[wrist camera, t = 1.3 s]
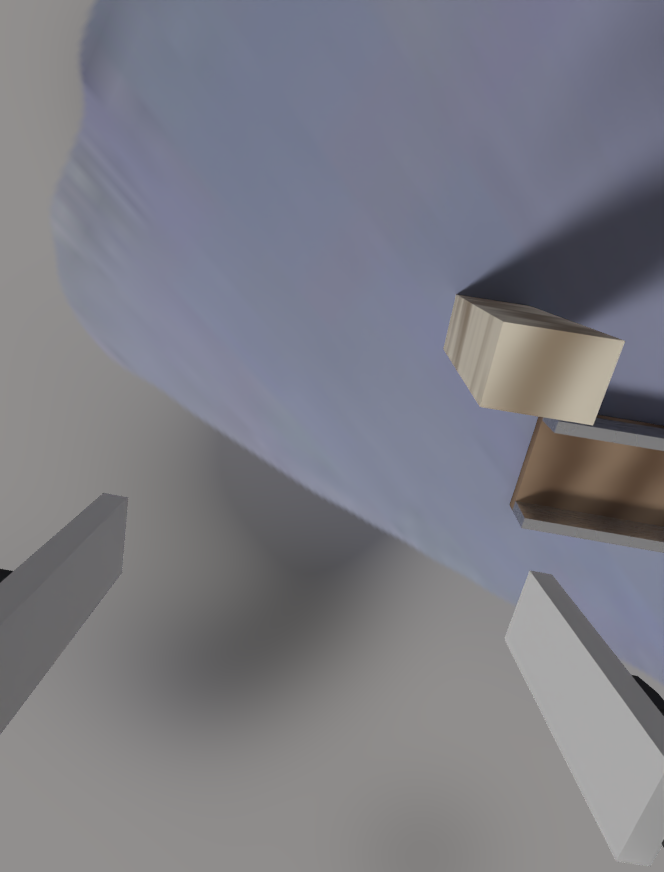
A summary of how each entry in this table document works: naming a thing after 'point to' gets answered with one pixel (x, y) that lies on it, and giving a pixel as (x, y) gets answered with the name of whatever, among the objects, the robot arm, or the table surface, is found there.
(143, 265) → the table surface
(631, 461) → the floor track
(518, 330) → the pale wooden block
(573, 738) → the robot arm
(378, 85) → the table surface
